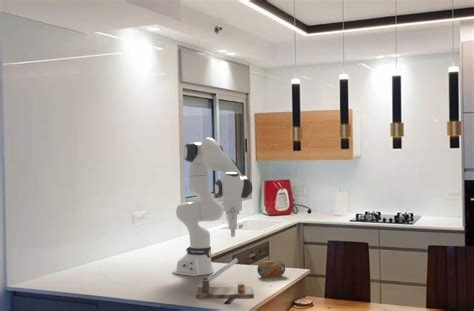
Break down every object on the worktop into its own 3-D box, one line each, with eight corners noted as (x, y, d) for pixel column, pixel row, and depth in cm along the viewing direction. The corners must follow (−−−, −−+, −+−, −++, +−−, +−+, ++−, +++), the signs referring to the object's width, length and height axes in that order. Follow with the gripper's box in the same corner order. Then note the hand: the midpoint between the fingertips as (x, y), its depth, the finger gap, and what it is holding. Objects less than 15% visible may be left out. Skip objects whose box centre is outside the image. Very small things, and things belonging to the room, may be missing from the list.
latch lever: (205, 285, 249) (203, 283, 249) (205, 282, 253) (204, 280, 253) (237, 261, 249) (236, 259, 249) (237, 260, 253) (236, 257, 253)
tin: (258, 278, 280) (258, 262, 280) (256, 277, 283) (256, 261, 283) (285, 276, 284) (285, 260, 284) (283, 275, 287) (283, 259, 287)
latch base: (196, 298, 244) (196, 283, 244) (198, 290, 258) (198, 275, 258) (253, 297, 244) (253, 282, 244) (252, 289, 258) (252, 274, 258)
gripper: (239, 209, 240) (240, 239, 241) (238, 204, 261) (239, 233, 261) (225, 209, 240) (226, 240, 240) (225, 204, 261) (226, 233, 261)
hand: (232, 236), depth 251 cm, fingers closed
